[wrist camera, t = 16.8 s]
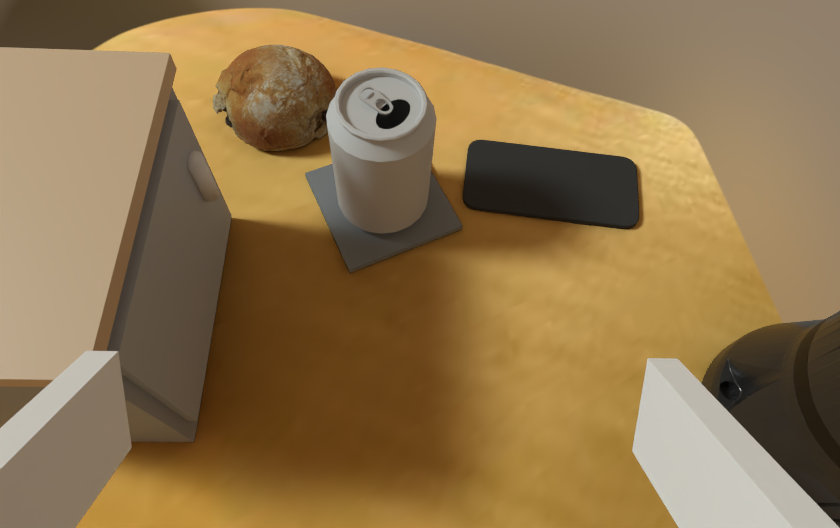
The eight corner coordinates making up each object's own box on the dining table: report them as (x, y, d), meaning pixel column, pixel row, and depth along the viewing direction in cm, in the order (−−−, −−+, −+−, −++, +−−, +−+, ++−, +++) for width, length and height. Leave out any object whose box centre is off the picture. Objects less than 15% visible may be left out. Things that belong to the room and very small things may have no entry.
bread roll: (299, 186, 55) (327, 145, 48) (191, 133, 52) (205, 81, 45) (332, 107, 59) (362, 59, 53) (234, 53, 56) (253, -5, 50)
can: (391, 255, 47) (391, 165, 37) (319, 206, 49) (299, 106, 38) (445, 193, 50) (460, 92, 40) (375, 149, 52) (371, 41, 41)
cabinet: (250, 212, 49) (187, 53, 34) (215, 449, 41) (108, 380, 25) (78, 208, 49) (-66, 45, 33) (5, 448, 40) (-235, 376, 25)
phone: (469, 137, 53) (636, 157, 53) (468, 143, 54) (633, 163, 54) (461, 206, 50) (640, 228, 50) (460, 211, 51) (636, 233, 50)
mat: (411, 140, 53) (411, 136, 53) (461, 229, 49) (462, 225, 49) (305, 177, 51) (305, 173, 50) (349, 273, 47) (349, 269, 47)
